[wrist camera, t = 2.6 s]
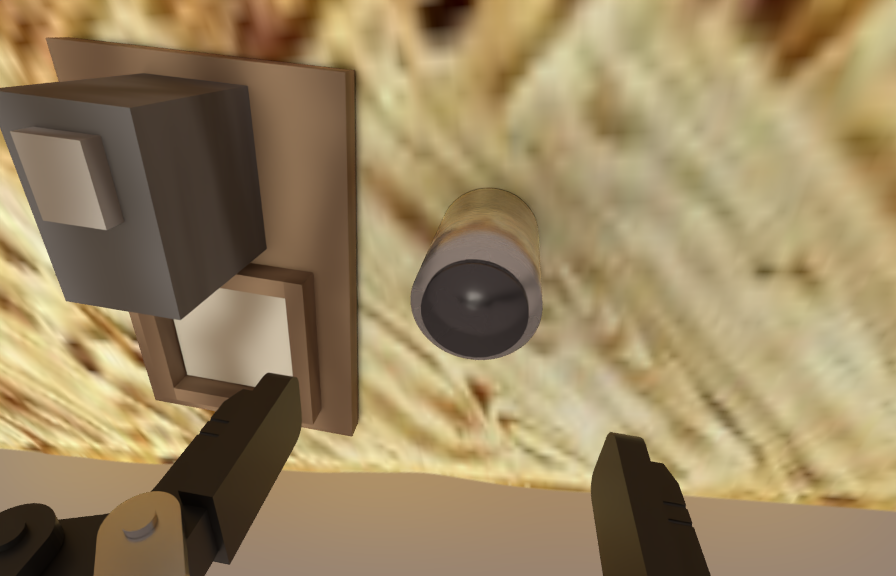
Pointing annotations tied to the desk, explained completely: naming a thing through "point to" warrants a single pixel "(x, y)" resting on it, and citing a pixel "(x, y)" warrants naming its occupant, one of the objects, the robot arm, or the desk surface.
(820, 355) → the desk surface
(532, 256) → the lens
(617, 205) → the desk surface
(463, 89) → the desk surface
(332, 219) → the dock
